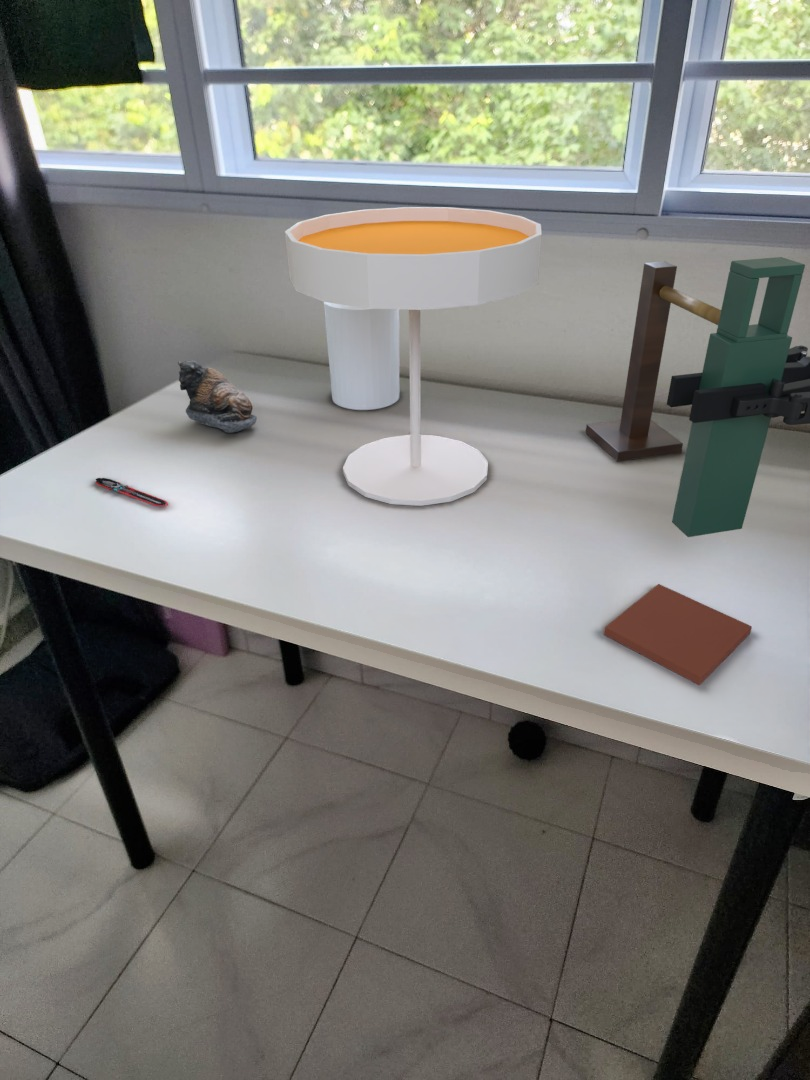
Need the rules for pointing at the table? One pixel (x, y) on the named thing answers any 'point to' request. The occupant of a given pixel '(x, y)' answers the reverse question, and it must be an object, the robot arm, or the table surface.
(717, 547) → the table surface
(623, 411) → the hook stand
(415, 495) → the white stemmed bowl
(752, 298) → the green block with loop
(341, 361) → the bottle
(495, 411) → the table surface
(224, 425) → the bison figurine
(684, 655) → the cork pad
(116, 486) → the pen
